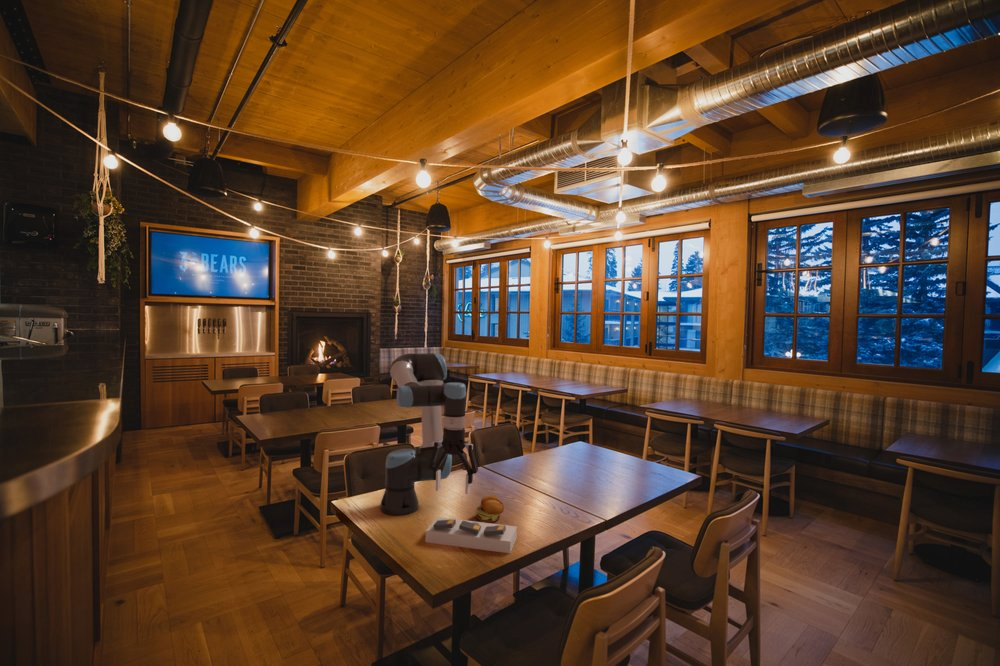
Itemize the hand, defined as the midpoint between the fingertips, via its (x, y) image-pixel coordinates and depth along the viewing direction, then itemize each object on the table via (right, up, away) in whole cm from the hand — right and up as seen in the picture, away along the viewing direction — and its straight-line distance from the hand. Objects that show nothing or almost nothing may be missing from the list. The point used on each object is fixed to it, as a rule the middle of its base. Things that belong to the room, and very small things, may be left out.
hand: (452, 490), depth 164 cm
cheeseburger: (+12, -18, +20) cm, 30 cm away
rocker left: (-3, -13, +1) cm, 13 cm away
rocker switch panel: (+7, -18, +2) cm, 19 cm away
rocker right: (+15, -13, -3) cm, 20 cm away
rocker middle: (+6, -13, -1) cm, 14 cm away
